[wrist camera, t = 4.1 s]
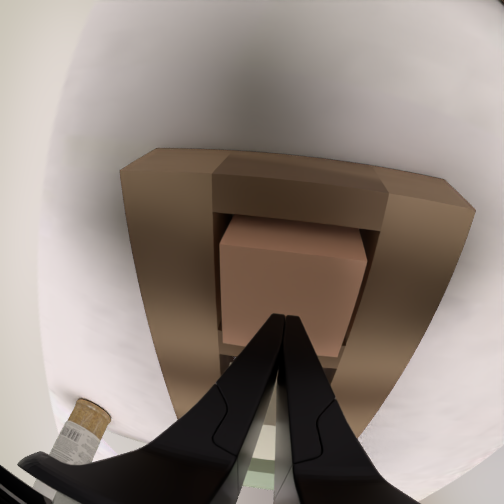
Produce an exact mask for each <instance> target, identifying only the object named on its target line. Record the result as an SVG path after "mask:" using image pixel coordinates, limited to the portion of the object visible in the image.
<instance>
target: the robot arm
mask: <svg viewBox="0 0 504 504" xmlns="http://www.w3.org/2000/svg"><path fill="white" fill-rule="evenodd" d="M278 366H279V367H278ZM277 373H278V374H277ZM276 378H277V385H276V436H275V472H274V502H273V504H420V503H419V502H417V501H416V500H414V499H413V498H411V497H409V496H408V495H406V494H405V493H403V492H402V491H400V490H399V489H397V488H396V487H394V486H393V485H391V484H390V483H389V482H387V481H386V480H385V479H384V478H383V477H382V476H381V475H380V473H379V472H378V471H377V469H376V468H375V466H374V465H373V463H372V461H371V460H370V458H369V457H368V455H367V453H366V452H365V450H364V449H363V447H362V445H361V444H360V442H359V441H358V439H357V437H356V436H355V434H354V432H353V431H352V429H351V427H350V425H349V424H348V422H347V420H346V418H345V416H344V414H343V412H342V410H341V407H340V405H339V403H338V401H337V399H336V396H335V394H334V392H333V390H332V387H331V385H330V383H329V381H328V378H327V376H326V374H325V372H324V369H323V367H322V365H321V363H320V361H319V358H318V356H317V354H316V352H315V349H314V347H313V345H312V343H311V341H310V338H309V336H308V334H307V332H306V330H305V327H304V325H303V323H302V321H301V319H300V317H299V316H295V315H286V318H285V315H284V314H278V313H272V314H271V315H270V317H269V318H268V319H267V320H266V322H265V323H264V324H263V325H262V327H261V328H260V329H259V330H258V332H257V333H256V334H255V335H254V337H253V338H252V339H251V340H250V341H249V343H248V344H247V345H246V346H245V348H244V349H243V350H242V351H241V352H240V354H239V355H238V356H237V357H236V359H235V360H234V361H233V362H232V363H231V365H230V366H229V367H228V368H227V369H226V370H225V372H224V373H223V374H222V375H221V376H220V378H219V379H218V380H217V381H216V384H213V386H212V387H211V388H210V389H209V390H208V391H207V393H206V394H205V395H204V396H203V397H202V398H201V399H200V400H199V401H198V402H197V403H196V404H195V405H194V406H193V407H192V408H191V409H190V410H189V411H188V412H186V413H185V414H184V415H183V416H182V417H181V418H180V419H178V420H177V421H176V422H175V423H174V424H172V425H171V426H170V427H169V428H168V429H166V430H165V431H164V432H163V433H161V434H160V435H159V436H158V437H157V438H155V439H154V440H153V441H151V442H150V443H148V444H147V445H145V446H143V447H142V448H139V449H137V450H134V451H131V452H127V453H124V454H121V455H117V456H114V457H110V458H107V459H103V460H99V461H96V462H92V463H88V464H82V465H72V464H66V463H64V462H61V461H59V460H58V459H56V458H54V457H52V456H50V455H48V454H46V453H44V452H41V451H40V452H37V453H34V454H31V455H29V456H27V457H25V458H23V459H22V460H21V461H20V462H19V463H18V464H17V465H18V466H19V467H20V468H22V469H23V470H25V471H26V472H28V473H29V474H30V475H32V476H33V477H35V478H36V479H38V480H39V481H41V482H43V483H44V484H46V485H47V486H49V487H51V488H52V489H54V490H56V493H55V496H54V498H53V500H51V499H49V498H48V497H46V496H44V495H43V494H41V493H40V492H38V491H36V490H35V489H33V488H32V487H30V486H29V485H27V484H26V483H24V482H23V481H22V480H20V479H19V478H17V477H16V476H15V475H13V474H12V473H10V472H9V471H8V470H6V469H5V468H4V467H3V466H1V465H0V504H236V502H237V499H238V496H239V493H240V490H241V488H242V485H243V482H244V479H245V477H246V474H247V471H248V468H249V465H250V462H251V459H252V456H253V453H254V450H255V447H256V444H257V441H258V438H259V435H260V432H261V429H262V426H263V423H264V419H265V416H266V413H267V410H268V407H269V403H270V400H271V397H272V393H273V390H274V387H275V383H276Z"/></svg>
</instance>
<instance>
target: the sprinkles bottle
mask: <svg viewBox="0 0 504 504" xmlns="http://www.w3.org/2000/svg"><path fill="white" fill-rule="evenodd" d="M110 422H111V419H110V417H109V415H108V414H107V413H106V412H105V411H104V410H102V409H101V408H100V407H98V406H97V405H95V404H93V403H92V402H90V401H86V400H83V399H79V400H77V402H76V406H75V408H74V410H73V411H72V413H71V415H70V417H69V419H68V421H66V423H65V425H64V427H63V428H62V430H61V432H60V434H59V436H58V438H57V440H56V442H55V444H54V446H53V448H52V450H51V452H50V454H49V455H50V456H52V457H54V458H56V459H58V460H59V461H61V462H64V463H66V464H72V465H82V464H88V463H91V462H92V460H93V457H94V455H95V453H96V451H97V448H98V446H99V444H100V440H101V438H102V436H103V434H104V432H105V430H106V427H107V425H108V424H109V423H110ZM33 489H35V490H36V491H38V492H40V493H41V494H43V495H44V496H46V497H48V498H49V499H51V500H53V498H54V496H55V493H56V490H54V489H52V488H51V487H49V486H47V485H46V484H44V483H43V482H41V481H39V480H38V479H36V481H35V483H34V486H33Z"/></svg>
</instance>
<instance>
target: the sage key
mask: <svg viewBox="0 0 504 504" xmlns="http://www.w3.org/2000/svg"><path fill="white" fill-rule="evenodd" d="M274 472H275V461H274V460H266V459H259V458H252V459H251V462H250V465H249V468H248V471H247V474H246V477H245V479H244V482H243V485H242V486H247V487H253V488H260V489H268V490H274Z"/></svg>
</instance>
